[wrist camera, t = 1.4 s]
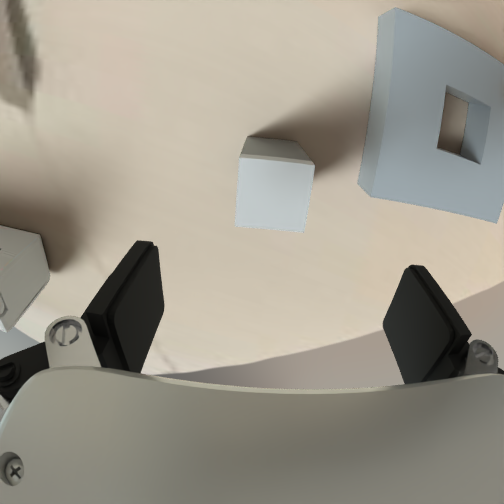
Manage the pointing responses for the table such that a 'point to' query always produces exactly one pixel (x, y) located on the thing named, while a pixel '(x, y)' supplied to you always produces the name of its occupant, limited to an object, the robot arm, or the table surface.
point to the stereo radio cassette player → (20, 273)
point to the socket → (433, 120)
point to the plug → (273, 185)
